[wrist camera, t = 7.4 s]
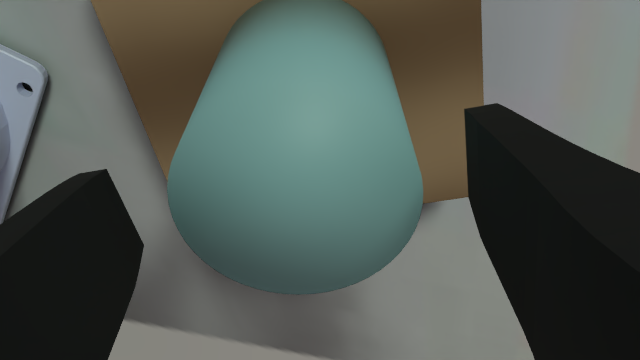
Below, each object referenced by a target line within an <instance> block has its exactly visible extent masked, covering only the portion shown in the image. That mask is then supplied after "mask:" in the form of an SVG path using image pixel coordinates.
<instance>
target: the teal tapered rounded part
mask: <svg viewBox="0 0 640 360" xmlns="http://www.w3.org/2000/svg"><path fill="white" fill-rule="evenodd" d="M167 193H168V201H169V207H170V210H171V214H172V217H173V220H174V222H175V224H176V226H177V229H178V231H179V232H180V234H181V235H182V237H183V239H184V240H185V242H186V243H187V244H188V245H189V247H190V248H191V249H192V250H193V251H194V252H195V253H196V254H197V255H198V256H199V257H200V258H201V259H202V260H203V261H204V262H205V263H207V264H208V265H209V266H211V267H212V268H213V269H215V270H216V271H218V272H219V273H221V274H223V275H225V276H226V277H228V278H230V279H232V280H234V281H237V282H239V283H241V284H244V285H247V286H250V287H253V288H256V289H260V290H264V291H268V292H274V293H282V294H298V295H299V294H316V293H323V292H329V291H333V290H337V289H341V288H344V287H347V286H350V285H353V284H356V283H358V282H360V281H362V280H364V279H366V278H368V277H370V276H371V275H373V274H375V273H376V272H378V271H380V270H381V269H382V268H383V267H385V266H386V265H387V264H389V263H390V262H391V261H392V260H393V259H394V258H395V257H396V256H397V255H398V254H399V253H400V252H401V251H402V249H403V248H404V247H405V245H406V244H407V243H408V241H409V240H410V238H411V236H412V234H413V233H414V231H415V229H416V226H417V223H418V221H419V218H420V214H421V210H422V205H423V183H422V176H421V172H420V169H419V165H418V161H417V158H416V154H415V151H414V148H413V144H412V141H411V137H410V134H409V130H408V127H407V123H406V120H405V116H404V113H403V109H402V106H401V103H400V99H399V96H398V92H397V89H396V85H395V82H394V78H393V75H392V71H391V68H390V64H389V61H388V57H387V54H386V51H385V47H384V45H383V42H382V40H381V38H380V36H379V34H378V33H377V31H376V29H375V28H374V26H373V25H372V24H371V23H370V22H369V20H368V19H367V18H366V17H365V16H364V15H363V14H362V13H361V12H359V11H358V10H357V9H355V8H354V7H353V6H351V5H350V4H348V3H346V2H344V1H342V0H262V1H261V2H259V3H257V4H255V5H254V6H252V7H251V8H250V9H248V10H247V11H246V12H245V13H244V14H243V15H242V16H241V17H239V18H238V20H237V21H236V22H235V24H234V25H233V26H232V27H231V29H230V31H229V33H228V34H227V36H226V38H225V40H224V43H223V45H222V47H221V49H220V52H219V54H218V56H217V58H216V61H215V63H214V65H213V68H212V70H211V72H210V74H209V77H208V79H207V81H206V83H205V86H204V88H203V90H202V92H201V95H200V97H199V99H198V101H197V104H196V106H195V108H194V111H193V113H192V115H191V117H190V120H189V122H188V124H187V126H186V129H185V131H184V133H183V135H182V138H181V140H180V142H179V144H178V147H177V149H176V151H175V154H174V156H173V159H172V162H171V165H170V169H169V174H168V186H167Z"/></svg>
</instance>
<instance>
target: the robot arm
mask: <svg viewBox="0 0 640 360" xmlns="http://www.w3.org/2000/svg"><path fill="white" fill-rule="evenodd" d="M47 81H48V74H47V71H46V69H45V68H44V67H43V66H42V65H41V64H40V63H38V62H37V61H35V60H33V59H31V58H28V57H26V56H24V55H22V54H20V53H18V52H16V51H14V50H12V49H10V48H8V47H5V46H3V45H1V44H0V360H108V357H109V355H110V352H111V350H112V347H113V344H114V342H115V339H116V337H117V334H118V332H119V329H120V326H121V324H122V321H123V319H124V316H125V313H126V311H127V308H128V305H129V302H130V300H131V297H132V294H133V291H134V289H135V285H136V281H137V277H138V272H139V268H140V263H141V258H142V252H143V247H144V244H143V242H142V240H141V238H140V236H139V234H138V232H137V230H136V228H135V226H134V224H133V222H132V220H131V218H130V216H129V214H128V212H127V210H126V208H125V206H124V204H123V202H122V199H121V197H120V195H119V193H118V191H117V189H116V187H115V185H114V183H113V181H112V179H111V177H110V175H109V173H108V171H107V169H104V170H98V171H92V172H86V173H80V174H77V175H75V176H73V177H71V178H69V179H68V180H66V181H64V182H62V183H61V184H59V185H57V186H56V187H54V188H53V189H51V190H50V191H48V192H47V193H45V194H44V195H42V196H41V197H39V198H38V199H36V200H35V201H33V202H32V203H30V204H29V205H28V206H26V207H25V208H23V209H22V210H20V211H19V212H17V213H16V214H15V215H13V216H12V217H10V218H9V219H7V220H6V221H5V222H3V221H4V218H5V215H6V212H7V209H8V205H9V202H10V199H11V196H12V193H13V190H14V186H15V183H16V180H17V177H18V174H19V170H20V167H21V164H22V161H23V158H24V155H25V151H26V148H27V145H28V142H29V139H30V135H31V132H32V129H33V126H34V123H35V120H36V116H37V113H38V110H39V107H40V104H41V100H42V97H43V94H44V91H45V88H46V85H47ZM22 82H24V83H27V84H28V85H30V86H31V88H32V90H33V92H30V91H27V90H26V89H25V88H24V87H23V85H22ZM464 117H465V138H466V159H467V180H468V197H469V200H470V204H471V207H472V211H473V214H474V217H475V221H476V224H477V227H478V230H479V234H480V237H481V239H482V242H483V244H484V246H485V248H486V251H487V253H488V255H489V257H490V259H491V262H492V264H493V266H494V268H495V270H496V273H497V275H498V277H499V279H500V281H501V283H502V286H503V288H504V290H505V292H506V294H507V296H508V299H509V301H510V303H511V305H512V307H513V309H514V312H515V314H516V316H517V318H518V320H519V322H520V325H521V327H522V329H523V331H524V333H525V336H526V338H527V341H528V343H529V346H530V348H531V351H532V353H533V356H534V359H535V360H640V173H638V172H636V171H633V170H631V169H628V168H626V167H623V166H621V165H618V164H616V163H614V162H612V161H609V160H607V159H605V158H603V157H600V156H598V155H596V154H594V153H591V152H589V151H587V150H585V149H583V148H581V147H579V146H577V145H575V144H573V143H571V142H569V141H567V140H565V139H563V138H561V137H559V136H557V135H555V134H554V133H552V132H550V131H548V130H546V129H544V128H542V127H541V126H539V125H537V124H535V123H533V122H532V121H530V120H528V119H526V118H524V117H523V116H521V115H519V114H517V113H515V112H514V111H512V110H510V109H508V108H506V107H504V106H502V105H500V104H498V103H496V104H490V105H484V106H478V107H472V108H466V109H464Z"/></svg>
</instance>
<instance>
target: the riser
mask: <svg viewBox="0 0 640 360" xmlns="http://www.w3.org/2000/svg"><path fill="white" fill-rule="evenodd" d="M261 1H262V0H91V2H92V4H93V7H94V9H95V11H96V14H97V16H98V19H99V21H100V23H101V26H102V28H103V30H104V33H105V35H106V37H107V40H108V42H109V45H110V47H111V49H112V52H113V54H114V56H115V59H116V61H117V64H118V66H119V68H120V71H121V73H122V75H123V78H124V80H125V83H126V85H127V87H128V90H129V92H130V94H131V97H132V99H133V101H134V104H135V106H136V109H137V111H138V113H139V116H140V118H141V120H142V123H143V125H144V128H145V130H146V132H147V135H148V137H149V139H150V142H151V144H152V146H153V149H154V151H155V154H156V156H157V158H158V161H159V163H160V165H161V168H162V170H163V173H164V175H165V177H166V180H167V182H168V174H169V169H170V165H171V162H172V159H173V156H174V154H175V151H176V149H177V147H178V144H179V142H180V140H181V138H182V135H183V133H184V131H185V129H186V126H187V124H188V122H189V120H190V117H191V115H192V113H193V111H194V108H195V106H196V104H197V101H198V99H199V97H200V95H201V92H202V90H203V88H204V86H205V83H206V81H207V79H208V77H209V74H210V72H211V70H212V68H213V65H214V63H215V61H216V58H217V56H218V54H219V52H220V49H221V47H222V45H223V43H224V40H225V38H226V36H227V34H228V33H229V31H230V29H231V27H232V26H233V25H234V24H235V22H236V21H237V20H238V18H239V17H241V16H242V15H243V14H244V13H245V12H246V11H247V10H248V9H250V8H251V7H252V6H254V5H255V4H257V3H259V2H261ZM342 1H344V2H346V3H348V4H350V5H351V6H353V7H354V8H355V9H357V10H358V11H359V12H361V13H362V14H363V15H364V16H365V17H366V18H367V19H368V20H369V22H370V23H371V24H372V25H373V26H374V28H375V29H376V31H377V33H378V34H379V36H380V38H381V40H382V42H383V45H384V47H385V51H386V54H387V57H388V61H389V64H390V68H391V71H392V75H393V78H394V82H395V85H396V89H397V92H398V96H399V99H400V103H401V106H402V109H403V113H404V116H405V120H406V123H407V127H408V130H409V134H410V137H411V141H412V144H413V148H414V151H415V154H416V158H417V161H418V165H419V169H420V172H421V176H422V183H423V203H430V202H437V201H444V200H450V199H457V198H464V197H468V180H467V159H466V138H465V117H464V109H466V108H472V107H478V106H484V100H483V61H482V22H481V0H342Z"/></svg>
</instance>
